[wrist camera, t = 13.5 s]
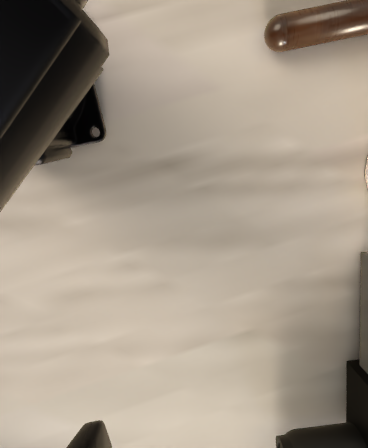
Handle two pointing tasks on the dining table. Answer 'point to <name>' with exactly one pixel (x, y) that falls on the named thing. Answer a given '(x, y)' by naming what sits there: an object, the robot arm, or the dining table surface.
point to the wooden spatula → (317, 25)
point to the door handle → (356, 396)
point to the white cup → (366, 172)
